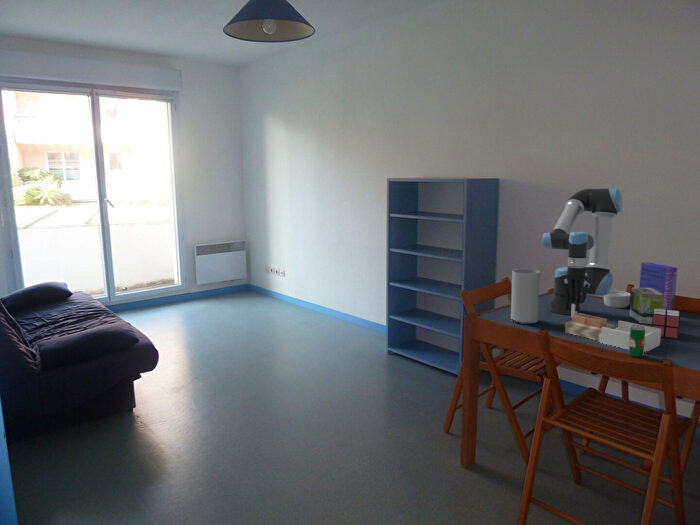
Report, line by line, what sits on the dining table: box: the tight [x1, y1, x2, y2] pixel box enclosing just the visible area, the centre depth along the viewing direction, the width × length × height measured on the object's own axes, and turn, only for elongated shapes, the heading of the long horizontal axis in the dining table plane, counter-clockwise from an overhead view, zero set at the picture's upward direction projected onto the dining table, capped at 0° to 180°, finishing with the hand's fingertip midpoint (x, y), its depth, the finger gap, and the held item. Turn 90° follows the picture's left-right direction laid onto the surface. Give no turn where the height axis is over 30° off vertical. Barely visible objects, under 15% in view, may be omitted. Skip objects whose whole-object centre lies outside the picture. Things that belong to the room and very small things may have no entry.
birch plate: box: [564, 320, 616, 342], centre depth 224 cm, size 16×12×5 cm
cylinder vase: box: [510, 268, 541, 323], centre depth 245 cm, size 12×12×25 cm
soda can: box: [628, 324, 645, 358], centre depth 196 cm, size 5×5×12 cm
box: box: [598, 320, 662, 353], centre depth 210 cm, size 18×16×7 cm
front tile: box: [586, 315, 608, 328], centre depth 221 cm, size 6×6×3 cm
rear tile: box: [571, 313, 593, 325], centre depth 226 cm, size 6×6×3 cm
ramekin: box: [603, 290, 631, 309], centre depth 271 cm, size 13×13×7 cm
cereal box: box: [638, 262, 678, 311], centre depth 258 cm, size 17×5×24 cm, turn 14°
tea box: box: [629, 287, 665, 325], centre depth 243 cm, size 15×10×15 cm
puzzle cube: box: [651, 309, 681, 339], centre depth 222 cm, size 10×10×10 cm
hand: (574, 317), depth 229 cm, fingers closed
